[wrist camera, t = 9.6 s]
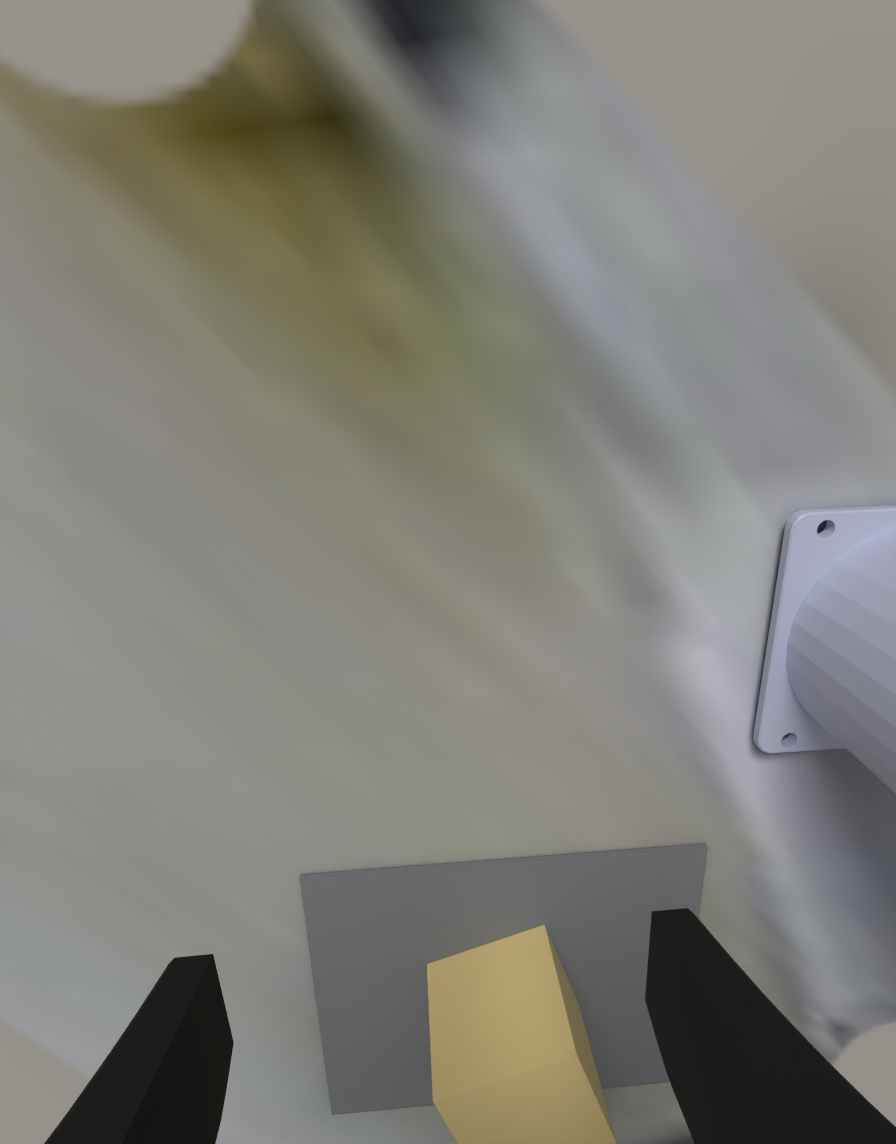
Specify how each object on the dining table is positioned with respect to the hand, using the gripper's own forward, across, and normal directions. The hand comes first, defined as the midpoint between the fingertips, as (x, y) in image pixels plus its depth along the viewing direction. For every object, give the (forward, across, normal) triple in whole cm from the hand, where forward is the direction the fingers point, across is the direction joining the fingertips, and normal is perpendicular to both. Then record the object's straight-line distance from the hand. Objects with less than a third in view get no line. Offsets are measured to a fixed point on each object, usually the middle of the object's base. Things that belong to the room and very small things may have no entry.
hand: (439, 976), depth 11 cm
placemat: (+10, -2, +13) cm, 16 cm away
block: (+10, -2, +13) cm, 16 cm away
